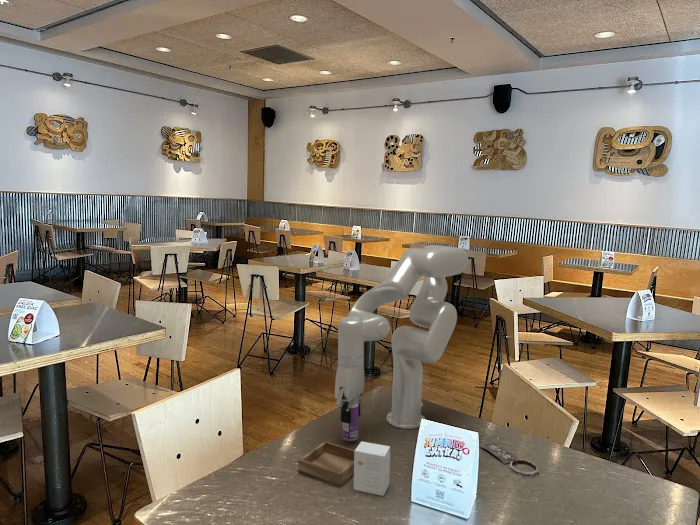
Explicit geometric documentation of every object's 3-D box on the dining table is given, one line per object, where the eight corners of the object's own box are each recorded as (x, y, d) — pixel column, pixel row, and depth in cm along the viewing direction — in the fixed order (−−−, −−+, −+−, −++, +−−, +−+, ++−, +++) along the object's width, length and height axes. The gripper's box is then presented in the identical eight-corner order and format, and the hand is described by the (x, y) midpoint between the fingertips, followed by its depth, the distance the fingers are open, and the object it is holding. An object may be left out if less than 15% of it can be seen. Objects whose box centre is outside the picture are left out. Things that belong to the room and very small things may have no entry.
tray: (324, 452, 148) (325, 440, 148) (365, 465, 142) (365, 453, 141) (298, 472, 137) (298, 460, 136) (340, 487, 130) (340, 474, 130)
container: (359, 433, 157) (359, 386, 154) (357, 441, 152) (358, 392, 150) (343, 433, 157) (343, 385, 155) (341, 440, 152) (341, 391, 150)
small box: (389, 485, 132) (391, 446, 131) (383, 497, 127) (385, 456, 126) (359, 478, 135) (361, 440, 134) (352, 490, 130) (354, 450, 128)
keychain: (496, 444, 157) (497, 438, 157) (545, 475, 140) (545, 468, 140) (476, 448, 154) (476, 442, 154) (523, 481, 137) (523, 474, 137)
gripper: (354, 349, 160) (353, 405, 163) (324, 365, 146) (324, 427, 148) (375, 353, 156) (375, 411, 159) (347, 370, 142) (346, 433, 145)
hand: (350, 418), depth 154 cm, fingers closed on container, 4 cm apart
